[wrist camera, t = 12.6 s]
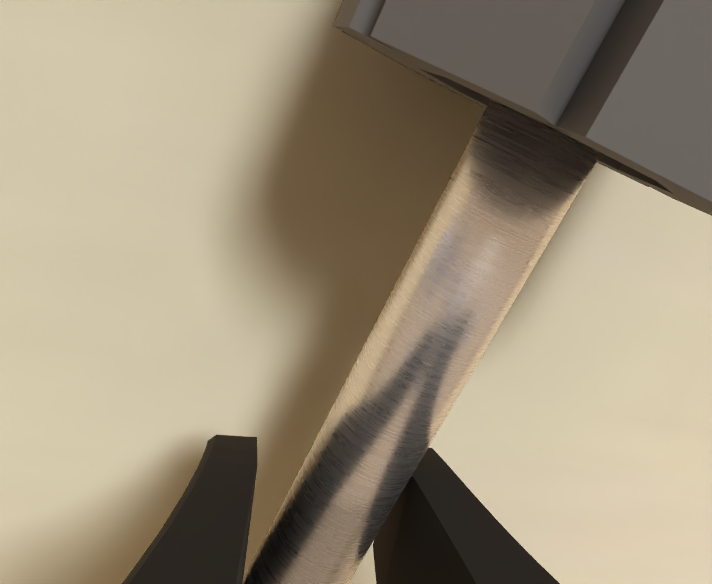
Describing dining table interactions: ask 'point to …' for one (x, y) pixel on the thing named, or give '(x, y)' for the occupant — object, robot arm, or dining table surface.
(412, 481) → the robot arm
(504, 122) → the chassis
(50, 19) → the dining table surface
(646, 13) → the grey octagonal nut
